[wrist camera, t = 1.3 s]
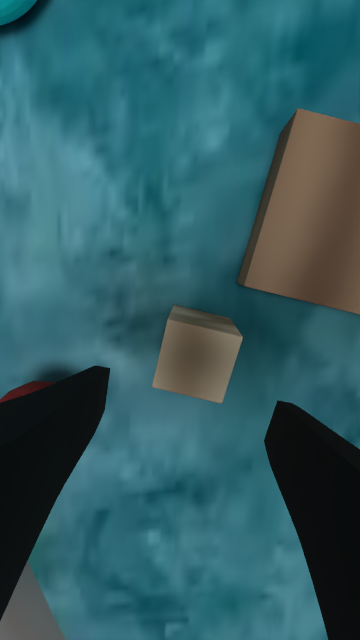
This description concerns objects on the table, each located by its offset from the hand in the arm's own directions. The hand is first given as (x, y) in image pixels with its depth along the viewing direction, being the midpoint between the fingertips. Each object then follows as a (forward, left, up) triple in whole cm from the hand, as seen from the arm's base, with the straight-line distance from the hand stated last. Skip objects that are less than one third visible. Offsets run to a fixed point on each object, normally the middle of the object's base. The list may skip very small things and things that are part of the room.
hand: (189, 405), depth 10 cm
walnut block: (-7, -10, -10) cm, 16 cm away
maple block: (0, 0, -10) cm, 10 cm away
